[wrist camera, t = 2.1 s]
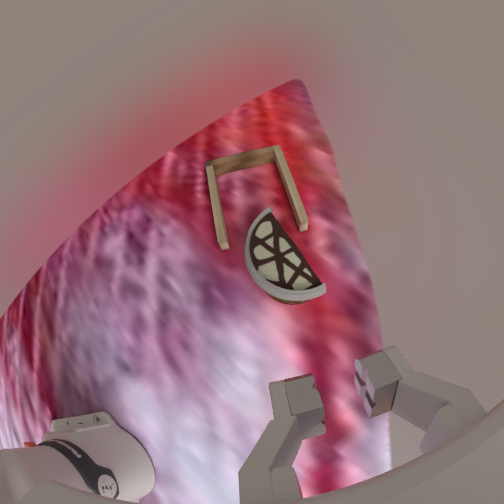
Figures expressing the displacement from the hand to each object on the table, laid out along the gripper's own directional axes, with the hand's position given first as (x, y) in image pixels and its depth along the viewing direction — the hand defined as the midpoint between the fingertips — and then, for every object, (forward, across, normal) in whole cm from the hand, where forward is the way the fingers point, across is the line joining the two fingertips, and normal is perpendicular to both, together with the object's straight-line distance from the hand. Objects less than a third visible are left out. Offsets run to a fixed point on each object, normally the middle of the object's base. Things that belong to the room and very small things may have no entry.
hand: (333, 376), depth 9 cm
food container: (+28, 0, +11) cm, 30 cm away
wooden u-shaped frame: (+38, 0, 0) cm, 38 cm away
